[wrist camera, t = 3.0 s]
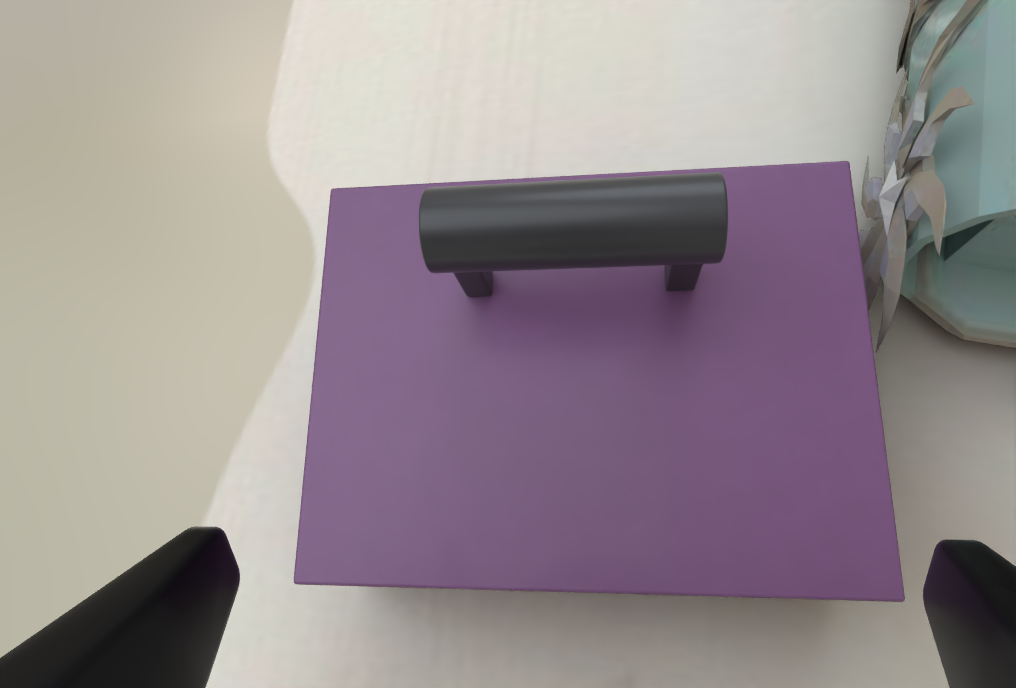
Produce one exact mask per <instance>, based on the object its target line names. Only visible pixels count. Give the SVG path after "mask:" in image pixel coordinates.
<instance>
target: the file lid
mask: <svg viewBox="0 0 1016 688" xmlns="http://www.w3.org/2000/svg"><path fill="white" fill-rule="evenodd" d="M294 583H295V584H303V585H337V586H372V587H406V588H440V589H474V590H508V591H542V592H577V593H611V594H645V595H679V596H713V597H747V598H782V599H816V600H850V601H884V602H903V601H904V599H905V596H904V588H903V581H902V573H901V565H900V557H899V549H898V541H897V533H896V526H895V518H894V510H893V502H892V494H891V486H890V478H889V471H888V463H887V455H886V447H885V439H884V431H883V423H882V416H881V408H880V400H879V392H878V384H877V376H876V368H875V361H874V353H873V345H872V337H871V329H870V321H869V313H868V306H867V298H866V290H865V282H864V274H863V266H862V258H861V251H860V243H859V235H858V227H857V219H856V211H855V203H854V196H853V188H852V180H851V172H850V164H849V162H848V161H840V162H821V163H803V164H784V165H765V166H747V167H728V168H709V169H691V170H672V171H653V172H635V173H616V174H597V175H579V176H560V177H541V178H523V179H504V180H485V181H467V182H448V183H429V184H411V185H392V186H373V187H355V188H336V189H331V195H330V206H329V216H328V227H327V237H326V248H325V258H324V269H323V279H322V289H321V300H320V310H319V321H318V331H317V342H316V352H315V363H314V373H313V384H312V394H311V405H310V415H309V425H308V436H307V446H306V457H305V467H304V478H303V488H302V499H301V509H300V520H299V530H298V541H297V551H296V561H295V572H294Z"/></svg>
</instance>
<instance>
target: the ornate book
mask: <svg viewBox="0 0 1016 688" xmlns="http://www.w3.org/2000/svg"><path fill="white" fill-rule="evenodd" d="M903 65H904V69H905V72H906V73H905V75H904V78H903V81H902V83H901V86H900V88H899V91H898V94H897V96H896V99H895V102H894V106H893V109H892V113H891V117H890V120H889V124H888V128H887V134H886V140H885V146H884V182H885V183H884V185H883V188H882V179H880V178H875V177H873V178H872V179H871V180H870V182H869V179H868V158H867V163H866V169H865V175H864V180H863V186H862V206H863V208H864V211H865V214H866V217H867V218H871V219H874V220H876V219H878V218H879V217H881V216H883V218H882V219H881V220H880V221H879V222H878V223H877V224H876V225H875V226H874V227H873V228H872V229H871V230H861V232H860V235H859V243H860V251H861V258H862V266H863V274H864V282H865V290H866V298H867V306H868V310H869V308H870V306H871V303H872V301H873V298H874V296H875V294H876V291H877V289H878V286H879V282H880V278H881V277H882V280H883V283H884V299H883V316H882V321H881V327H880V332H879V338H878V343H877V349H876V352H877V350H878V348H879V346H880V344H881V342H882V340H883V338H884V336H885V334H886V332H887V330H888V328H889V326H890V324H891V322H892V319H893V316H894V312H895V309H896V306H897V303H898V299H899V296H900V294H902V295H903V296H904V297H906V298H907V299H908V300H909V301H911V302H912V303H913V304H914V305H916V306H917V307H918V308H919V309H920V310H922V311H923V312H924V313H925V314H927V315H928V316H929V317H930V318H932V319H933V320H934V321H935V322H936V323H938V324H939V325H940V326H941V327H943V328H944V329H945V330H946V331H947V332H949V333H951V334H953V335H955V336H957V337H959V338H961V339H963V340H969V341H975V342H981V343H988V344H994V345H1000V346H1007V347H1013V348H1016V0H911V2H910V12H909V15H908V19H907V22H906V25H905V28H904V32H903V35H902V39H901V43H900V46H899V53H898V61H897V71H896V74H897V72H898V70H899V69H900V68H902V67H903ZM906 76H907V80H908V84H907V88H906V91H905V95H904V96H903V97H901V95H902V91H903V87H904V83H905V79H906ZM899 111H900V112H901V113H902V133H901V132H900V131H899V128H898V113H899ZM897 156H898V158H897ZM896 161H897V167H895V165H896Z"/></svg>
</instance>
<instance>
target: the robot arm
mask: <svg viewBox="0 0 1016 688" xmlns="http://www.w3.org/2000/svg"><path fill="white" fill-rule="evenodd" d="M239 582H240V573H239V568H238V565H237V562H236V560H235V557H234V554H233V552H232V549H231V547H230V544H229V541H228V539H227V536H226V534H225V532H224V531H223V530H222V529H221V528H218V527H191V528H189V529H187V530H185V531H184V532H182V533H181V534H179V535H178V536H176V537H175V538H173V539H172V540H170V541H169V542H168V543H166V544H165V545H163V546H162V547H160V548H159V549H157V550H156V551H155V552H153V553H152V554H150V555H149V556H147V557H146V558H144V559H143V560H142V561H140V562H139V563H137V564H136V565H134V566H133V567H131V568H130V569H129V570H127V571H126V572H124V573H123V574H121V575H120V576H118V577H117V578H116V579H114V580H113V581H111V582H110V583H108V584H107V585H105V586H104V587H102V588H101V589H100V590H98V591H97V592H95V593H94V594H92V595H91V596H89V597H88V598H87V599H85V600H84V601H82V602H81V603H79V604H78V605H77V606H75V607H74V608H72V609H71V610H69V611H68V612H66V613H65V614H63V615H62V616H60V617H59V618H58V619H56V620H55V621H53V622H52V623H50V624H49V625H48V626H46V627H45V628H43V629H42V630H40V631H39V632H37V633H36V634H34V635H33V636H32V637H30V638H29V639H27V640H26V641H24V642H23V643H21V644H20V645H19V646H17V647H16V648H14V649H13V650H11V651H10V652H8V653H7V654H5V655H4V656H3V657H1V658H0V688H205V687H206V684H207V682H208V679H209V676H210V673H211V670H212V667H213V664H214V661H215V658H216V655H217V652H218V649H219V645H220V642H221V639H222V636H223V633H224V630H225V627H226V624H227V621H228V618H229V615H230V612H231V609H232V606H233V603H234V600H235V597H236V594H237V591H238V587H239ZM923 600H924V606H925V610H926V613H927V616H928V620H929V623H930V626H931V629H932V632H933V636H934V639H935V642H936V645H937V649H938V652H939V655H940V658H941V661H942V665H943V668H944V671H945V674H946V678H947V681H948V684H949V687H950V688H1016V566H1014V565H1013V564H1011V563H1010V562H1009V561H1007V560H1006V559H1005V558H1003V557H1002V556H1000V555H999V554H998V553H996V552H995V551H993V550H992V549H991V548H989V547H988V546H986V545H985V544H983V543H981V542H979V541H975V540H942V541H940V542H939V543H938V544H937V546H936V548H935V550H934V554H933V557H932V560H931V564H930V567H929V571H928V574H927V578H926V581H925V584H924V589H923Z"/></svg>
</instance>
